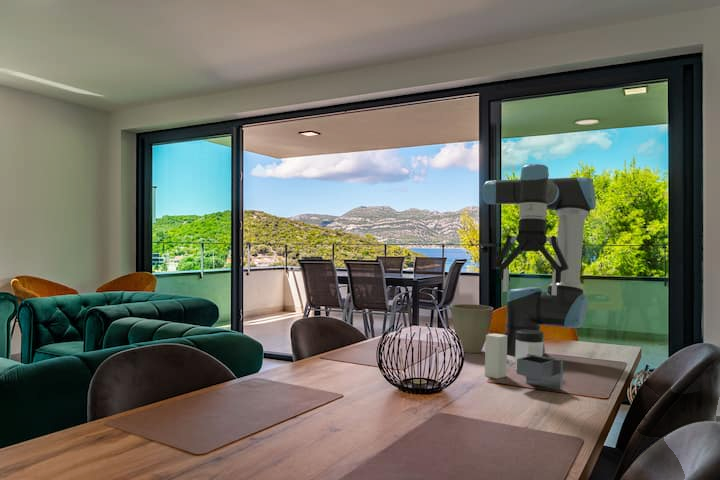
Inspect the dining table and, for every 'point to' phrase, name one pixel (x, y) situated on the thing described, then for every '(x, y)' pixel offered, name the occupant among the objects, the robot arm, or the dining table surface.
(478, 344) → the plant pot
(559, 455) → the dining table surface
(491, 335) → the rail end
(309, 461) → the dining table surface
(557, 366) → the cup bracket
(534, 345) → the jar
